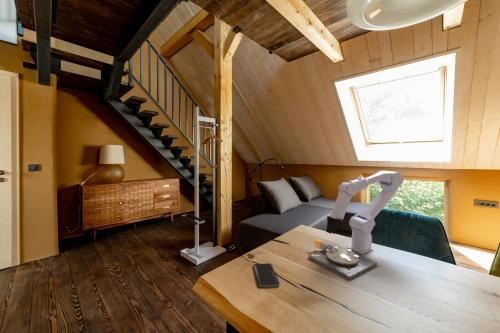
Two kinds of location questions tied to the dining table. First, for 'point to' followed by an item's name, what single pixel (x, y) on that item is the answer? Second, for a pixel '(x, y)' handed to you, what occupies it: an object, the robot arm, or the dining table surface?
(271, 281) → the phone
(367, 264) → the base plate
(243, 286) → the dining table surface
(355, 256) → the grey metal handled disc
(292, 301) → the dining table surface
